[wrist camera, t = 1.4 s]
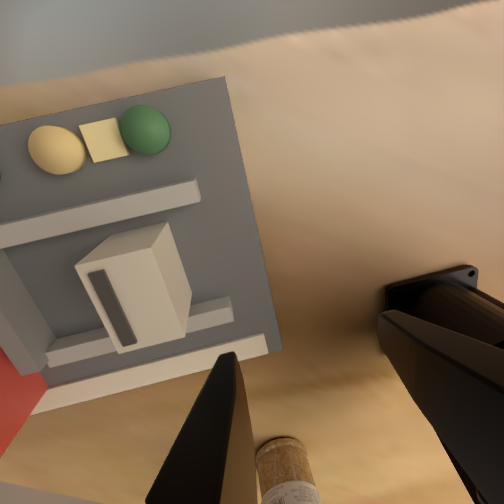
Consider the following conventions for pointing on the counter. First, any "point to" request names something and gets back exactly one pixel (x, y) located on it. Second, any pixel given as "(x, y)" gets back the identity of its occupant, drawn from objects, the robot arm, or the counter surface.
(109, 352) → the breaker panel
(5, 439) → the cap
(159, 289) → the panel
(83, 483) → the counter surface
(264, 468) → the sprinkles bottle
